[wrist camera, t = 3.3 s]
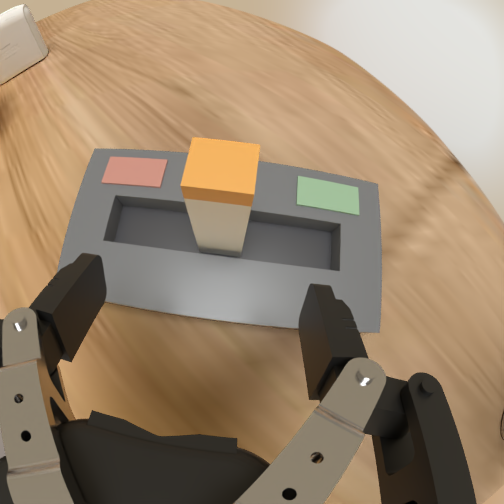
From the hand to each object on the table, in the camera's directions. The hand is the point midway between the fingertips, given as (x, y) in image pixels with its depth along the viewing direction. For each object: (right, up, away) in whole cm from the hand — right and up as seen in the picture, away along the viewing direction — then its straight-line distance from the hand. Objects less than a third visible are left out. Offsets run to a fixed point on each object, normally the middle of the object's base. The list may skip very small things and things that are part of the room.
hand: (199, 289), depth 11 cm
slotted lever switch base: (0, +2, +12) cm, 12 cm away
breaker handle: (0, +2, +11) cm, 11 cm away
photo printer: (-35, +31, +17) cm, 50 cm away
